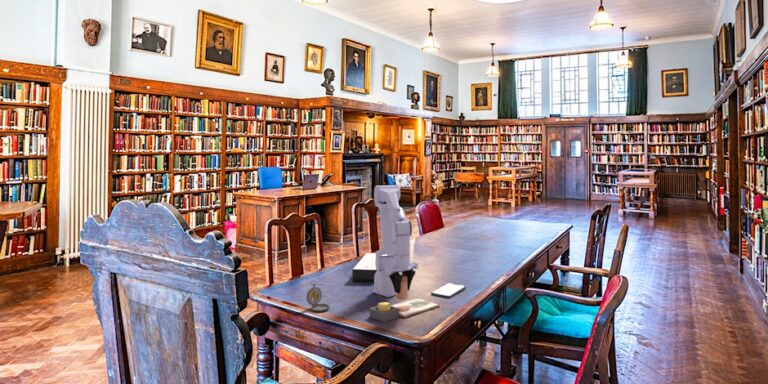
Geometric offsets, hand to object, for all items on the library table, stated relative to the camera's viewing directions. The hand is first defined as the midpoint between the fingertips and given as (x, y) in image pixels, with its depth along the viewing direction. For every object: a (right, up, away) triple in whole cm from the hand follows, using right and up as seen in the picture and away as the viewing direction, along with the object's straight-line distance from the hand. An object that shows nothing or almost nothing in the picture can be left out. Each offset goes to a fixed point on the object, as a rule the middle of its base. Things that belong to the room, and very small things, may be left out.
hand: (402, 291), depth 160 cm
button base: (-6, -8, -5) cm, 11 cm away
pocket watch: (-31, -8, +4) cm, 32 cm away
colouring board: (+3, -7, +4) cm, 9 cm away
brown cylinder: (0, -2, 0) cm, 2 cm away
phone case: (+20, -6, +24) cm, 32 cm away
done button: (-6, -6, -5) cm, 10 cm away
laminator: (-13, -4, +55) cm, 57 cm away
